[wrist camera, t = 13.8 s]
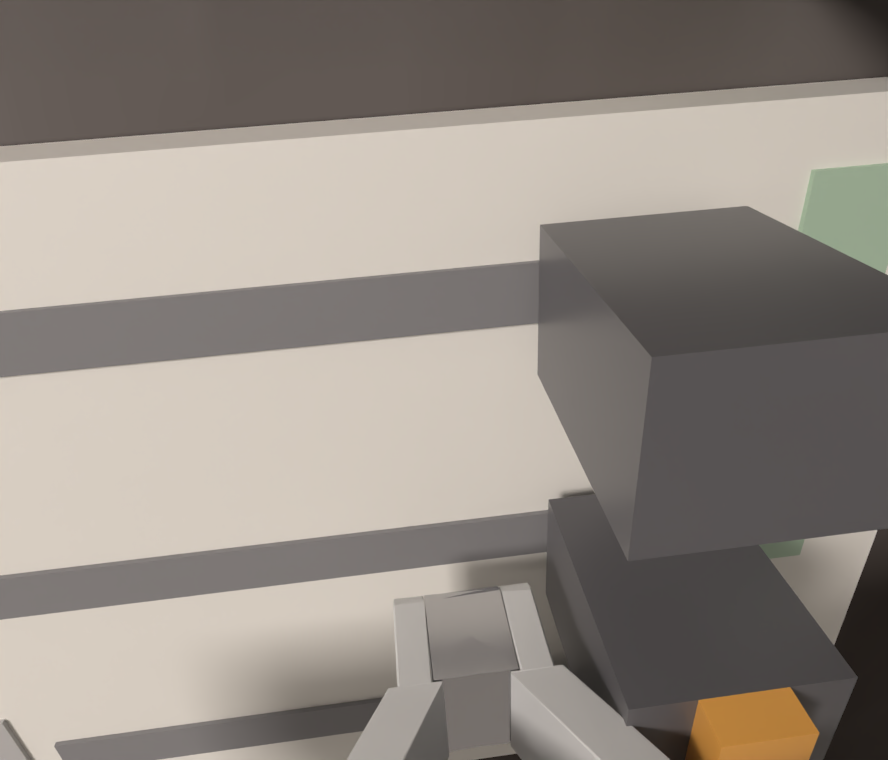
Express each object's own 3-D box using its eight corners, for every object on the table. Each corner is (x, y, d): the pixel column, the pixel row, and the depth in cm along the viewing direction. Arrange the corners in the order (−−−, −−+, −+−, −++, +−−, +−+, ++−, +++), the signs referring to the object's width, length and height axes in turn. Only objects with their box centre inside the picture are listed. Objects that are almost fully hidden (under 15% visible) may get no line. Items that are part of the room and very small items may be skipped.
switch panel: (-500, 185, 9) (-656, 216, 8) (962, 70, 10) (1054, 79, 9) (-38, 773, 17) (-74, 843, 15) (777, 661, 18) (811, 714, 17)
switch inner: (539, 224, 9) (652, 357, 5) (747, 206, 9) (984, 323, 6) (537, 374, 10) (628, 561, 7) (721, 355, 10) (901, 526, 7)
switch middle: (548, 499, 11) (647, 758, 7) (710, 480, 12) (892, 722, 8) (545, 592, 13) (628, 858, 9) (692, 574, 13) (841, 826, 9)
